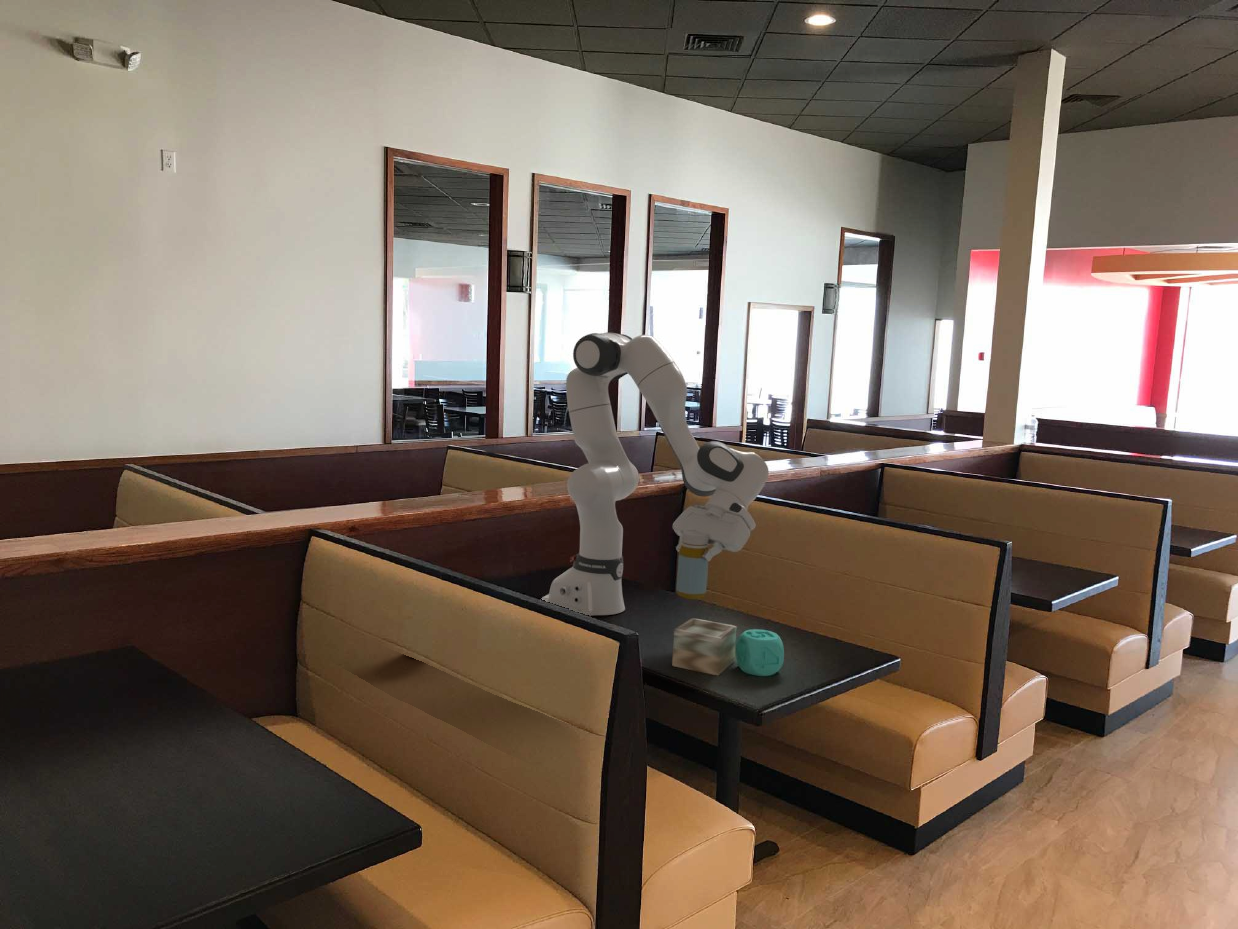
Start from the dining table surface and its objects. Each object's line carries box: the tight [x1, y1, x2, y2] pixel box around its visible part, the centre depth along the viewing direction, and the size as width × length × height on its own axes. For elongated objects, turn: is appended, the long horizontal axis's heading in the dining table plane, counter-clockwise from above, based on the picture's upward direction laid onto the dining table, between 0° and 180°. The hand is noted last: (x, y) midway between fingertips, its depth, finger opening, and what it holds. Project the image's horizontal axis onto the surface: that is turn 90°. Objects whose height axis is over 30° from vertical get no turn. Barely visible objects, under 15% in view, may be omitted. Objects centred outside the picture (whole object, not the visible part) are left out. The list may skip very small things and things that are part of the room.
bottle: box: [675, 530, 709, 600], centre depth 216 cm, size 7×7×15 cm
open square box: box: [671, 617, 738, 676], centre depth 204 cm, size 11×11×8 cm
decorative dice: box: [735, 628, 785, 677], centre depth 202 cm, size 8×8×8 cm
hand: (691, 555), depth 215 cm, fingers closed on bottle, 7 cm apart
